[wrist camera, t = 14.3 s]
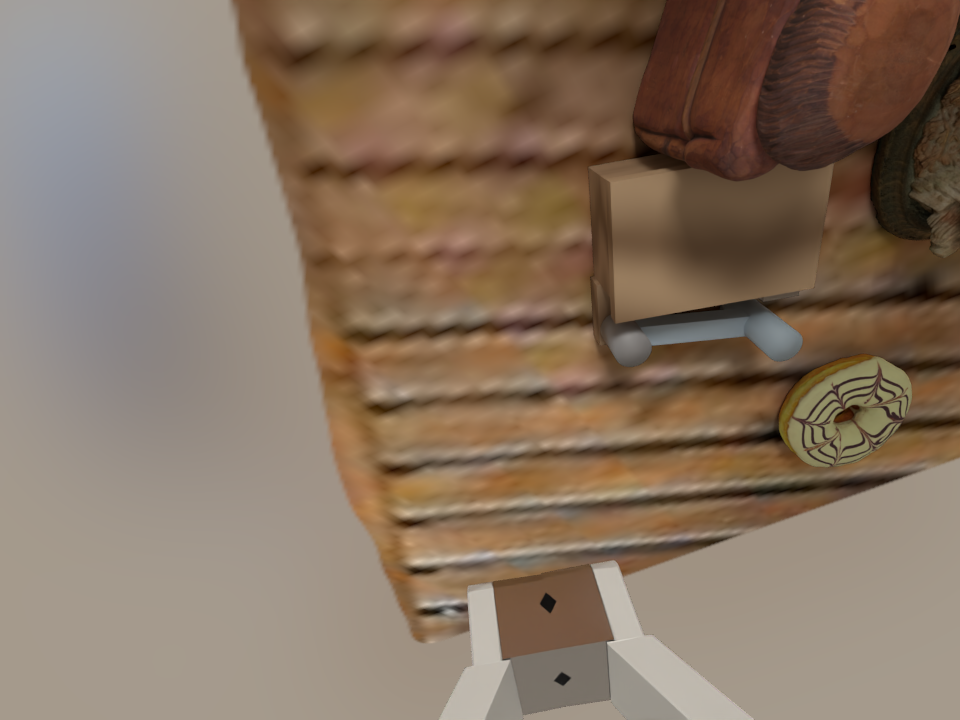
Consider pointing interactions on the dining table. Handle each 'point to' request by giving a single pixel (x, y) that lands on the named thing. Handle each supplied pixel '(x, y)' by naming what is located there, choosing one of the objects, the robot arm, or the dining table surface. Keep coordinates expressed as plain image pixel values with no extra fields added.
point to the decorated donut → (867, 410)
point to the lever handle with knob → (702, 331)
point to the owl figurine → (924, 165)
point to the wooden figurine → (786, 79)
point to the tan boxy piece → (700, 236)
